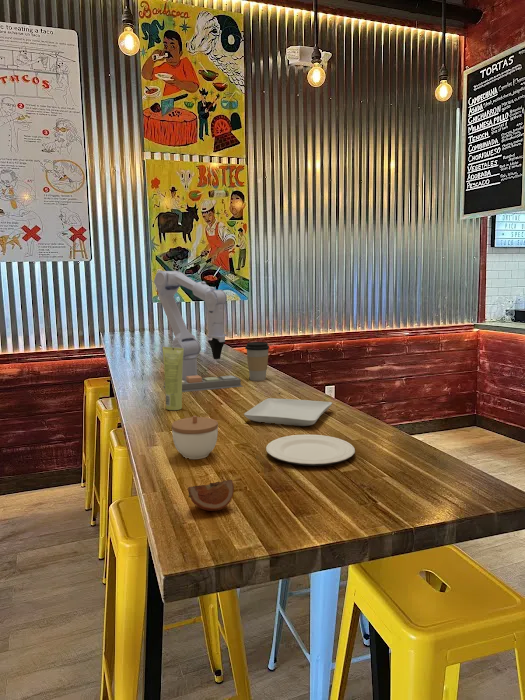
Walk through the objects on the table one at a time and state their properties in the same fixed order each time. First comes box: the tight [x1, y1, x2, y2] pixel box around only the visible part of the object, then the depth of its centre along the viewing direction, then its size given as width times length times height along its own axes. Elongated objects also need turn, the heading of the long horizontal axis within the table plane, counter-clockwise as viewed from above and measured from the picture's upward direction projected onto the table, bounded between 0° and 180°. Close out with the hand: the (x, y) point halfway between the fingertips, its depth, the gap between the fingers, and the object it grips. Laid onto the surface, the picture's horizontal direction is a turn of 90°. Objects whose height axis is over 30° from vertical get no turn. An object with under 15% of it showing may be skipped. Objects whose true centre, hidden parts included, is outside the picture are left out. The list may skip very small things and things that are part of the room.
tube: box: [162, 346, 184, 411], centre depth 169 cm, size 6×5×20 cm
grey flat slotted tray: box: [162, 375, 244, 393], centre depth 198 cm, size 12×27×3 cm, turn 112°
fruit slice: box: [187, 479, 235, 512], centre depth 99 cm, size 8×7×5 cm
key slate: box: [219, 374, 236, 380], centre depth 201 cm, size 5×5×2 cm
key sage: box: [202, 376, 219, 382], centre depth 199 cm, size 5×5×2 cm
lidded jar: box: [171, 415, 219, 460], centre depth 127 cm, size 11×11×9 cm
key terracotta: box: [186, 374, 203, 383], centre depth 196 cm, size 5×5×2 cm
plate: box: [265, 433, 356, 467], centre depth 128 cm, size 21×21×2 cm
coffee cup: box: [244, 341, 271, 382], centre depth 209 cm, size 9×9×15 cm
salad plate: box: [243, 397, 333, 427], centre depth 159 cm, size 21×21×3 cm
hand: (216, 358), depth 203 cm, fingers closed
